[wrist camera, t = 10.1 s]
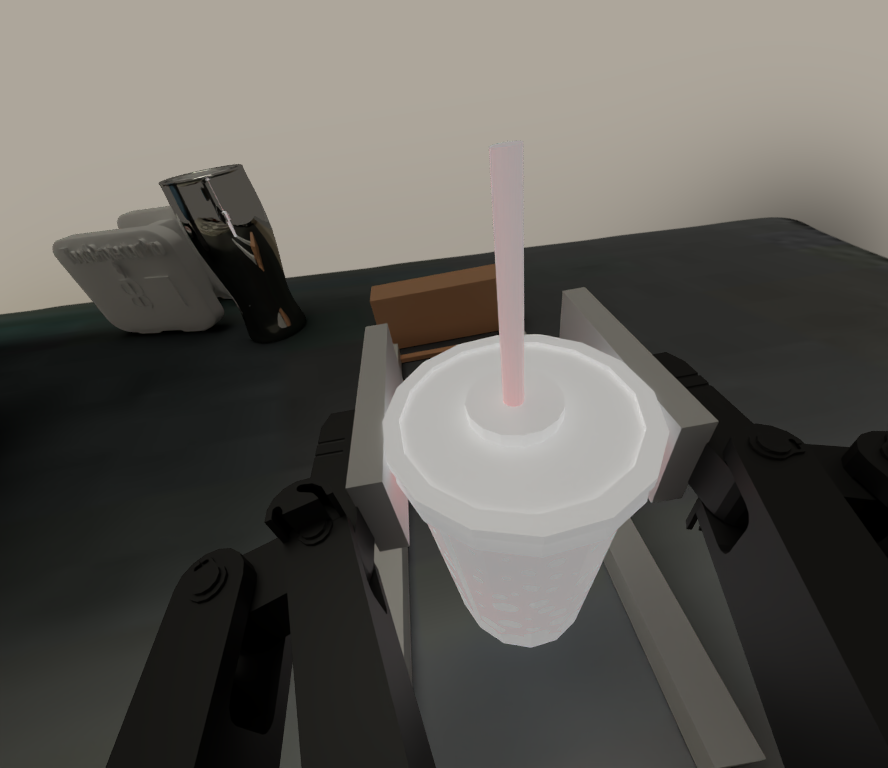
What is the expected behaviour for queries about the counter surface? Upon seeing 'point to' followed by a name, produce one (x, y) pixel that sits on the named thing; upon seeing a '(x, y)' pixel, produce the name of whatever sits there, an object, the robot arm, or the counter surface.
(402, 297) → the channel
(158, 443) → the counter surface
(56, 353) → the counter surface
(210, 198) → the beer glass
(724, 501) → the robot arm
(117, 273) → the cable organizer
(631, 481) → the beverage cup
